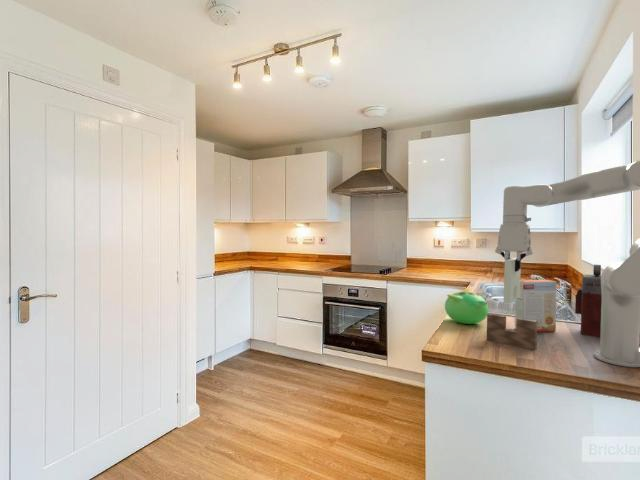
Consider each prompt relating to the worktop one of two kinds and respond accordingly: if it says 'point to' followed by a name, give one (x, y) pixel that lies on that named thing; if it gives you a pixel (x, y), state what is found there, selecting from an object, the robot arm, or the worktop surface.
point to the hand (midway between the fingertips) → (512, 270)
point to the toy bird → (466, 307)
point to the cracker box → (538, 303)
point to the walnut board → (512, 331)
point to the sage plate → (511, 281)
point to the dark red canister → (590, 303)
